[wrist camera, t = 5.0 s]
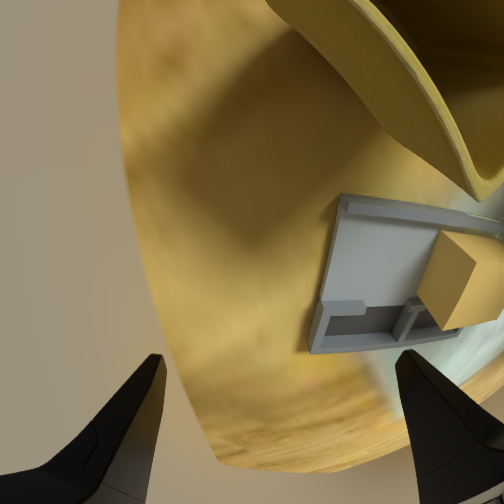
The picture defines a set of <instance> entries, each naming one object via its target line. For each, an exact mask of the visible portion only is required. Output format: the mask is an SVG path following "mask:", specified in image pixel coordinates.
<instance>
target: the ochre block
mask: <svg viewBox="0 0 504 504" xmlns="http://www.w3.org/2000/svg"><path fill="white" fill-rule="evenodd" d="M416 294H417V295H418V296H419V298H420V299H421V301H422V302H423V303H424V305H425V306H426V308H427V309H428V311H429V312H430V313H431V315H432V316H433V318H434V319H435V321H436V322H437V324H438V325H439V327H440V328H441V330H442V331H444V330H450V329H455V328H460V327H465V326H470V325H475V324H479V323H483V322H488V321H492V320H496V319H497V318H498V317H499V315H500V313H501V312H502V310H503V308H504V244H502V243H501V242H500V241H499V240H498V239H496V238H495V237H491V236H484V235H477V234H470V233H462V232H455V231H447V230H440V231H439V234H438V237H437V240H436V243H435V246H434V249H433V251H432V254H431V257H430V260H429V262H428V265H427V267H426V270H425V272H424V275H423V277H422V280H421V282H420V285H419V287H418V289H417V291H416Z"/></svg>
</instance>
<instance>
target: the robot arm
mask: <svg viewBox="0 0 504 504" xmlns="http://www.w3.org/2000/svg"><path fill="white" fill-rule="evenodd" d="M395 370H396V376H397V381H398V388H399V394H400V400H401V404H402V408H403V412H404V416H405V420H406V425H407V429H408V434H409V438H410V443H411V448H412V453H413V458H414V464H415V470H416V477H417V484H418V492H419V500H420V504H504V424H503V423H502V422H500V421H499V420H498V419H496V418H495V417H494V416H492V415H491V414H490V413H488V412H487V411H486V410H484V409H483V408H482V407H480V406H479V405H478V404H477V403H476V402H475V401H473V400H472V399H471V398H470V397H469V396H468V395H467V394H465V393H464V392H463V391H462V390H461V389H460V388H459V387H457V386H456V385H455V384H454V383H453V382H452V381H450V380H449V379H448V378H447V377H446V376H445V375H443V374H442V373H441V372H440V371H439V370H437V369H436V368H435V367H434V366H433V365H432V364H430V363H429V362H428V361H427V360H426V359H424V358H423V357H422V356H421V355H420V354H418V353H417V352H416V351H415V350H413V349H409V350H404V351H403V352H402V354H401V356H400V357H399V359H398V360H397V362H396V364H395ZM166 375H167V368H166V364H165V361H164V358H163V355H161V354H154V353H152V354H150V355H149V356H148V357H147V358H146V359H145V361H144V362H143V363H142V364H141V365H140V366H139V367H138V369H137V370H136V371H135V372H134V373H133V374H132V375H131V376H130V378H129V379H128V380H127V381H126V382H125V383H124V384H123V385H122V386H121V388H120V389H119V390H118V391H117V392H116V393H115V394H114V395H113V397H112V398H111V399H110V400H109V401H108V402H107V403H106V404H105V406H104V407H103V408H102V409H101V410H100V411H99V412H98V414H97V415H96V416H95V417H94V418H93V420H92V421H90V422H89V424H88V425H87V426H86V427H85V428H84V429H83V430H82V431H81V432H80V433H79V434H78V436H77V437H76V438H74V439H73V440H72V441H71V442H70V443H69V444H68V445H67V446H66V447H64V448H63V449H62V450H61V451H60V452H59V453H57V454H56V455H55V456H54V457H53V458H52V459H51V460H49V461H48V462H47V463H45V464H44V465H42V466H40V467H37V468H34V469H30V470H26V471H21V472H16V473H12V474H6V475H0V504H145V501H146V496H147V489H148V483H149V478H150V472H151V467H152V462H153V456H154V451H155V446H156V441H157V436H158V431H159V427H160V422H161V418H162V412H163V405H164V395H165V385H166Z"/></svg>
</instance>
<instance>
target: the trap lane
mask: <svg viewBox="0 0 504 504" xmlns="http://www.w3.org/2000/svg"><path fill="white" fill-rule="evenodd" d="M440 230H447V231H455V232H462V233H470V234H477V235H484V236H491V237H495V238H496V239H498V237H499V234H504V224H503V223H502V222H501V221H499V220H496V219H492V218H487V217H483V216H479V215H474V214H469V213H465V212H460V211H455V210H450V209H445V208H439V207H434V206H428V205H422V204H416V203H410V202H404V201H397V200H390V199H383V198H376V197H368V196H360V195H352V194H343V193H340V199H339V204H338V210H337V215H336V220H335V226H334V231H333V236H332V240H331V245H330V250H329V254H328V259H327V263H326V268H325V272H324V276H323V281H322V285H321V289H320V293H319V297H318V301H317V305H316V308H315V312H314V316H313V320H312V323H311V327H310V330H309V334H308V338H307V344H308V348H309V353H310V354H329V353H344V352H356V351H367V350H377V349H385V348H393V347H401V346H408V345H415V344H421V343H427V342H432V341H438V340H443V339H448V338H453V337H457V336H458V335H459V333H460V331H461V330H462V328H463V327H460V328H455V329H450V330H444V331H442V330H441V328H440V327H439V325H438V324H437V322H436V321H435V319H434V318H433V316H432V315H431V313H430V312H429V311H428V309H427V308H426V306H425V305H424V303H423V302H422V301H421V299H420V298H419V296H418V295H417V294H416V291H417V289H418V287H419V285H420V282H421V280H422V277H423V275H424V272H425V270H426V267H427V265H428V262H429V260H430V257H431V254H432V251H433V249H434V246H435V243H436V240H437V237H438V234H439V231H440Z"/></svg>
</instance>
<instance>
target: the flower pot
mask: <svg viewBox="0 0 504 504" xmlns="http://www.w3.org/2000/svg"><path fill="white" fill-rule="evenodd" d="M265 1H266V2H267V4H268V5H269V6H270V7H271V8H272V10H273V11H274V12H275V13H277V14H278V15H279V16H280V17H281V18H282V19H283V20H284V21H286V22H287V23H288V24H289V25H290V26H291V27H293V28H294V29H295V30H296V31H297V32H298V33H299V34H300V35H302V36H303V37H304V38H305V39H306V40H307V41H308V42H309V43H310V44H311V45H312V46H313V47H314V48H315V49H316V50H317V51H318V52H319V53H320V54H321V55H322V56H323V57H324V58H325V59H326V60H327V61H328V62H329V63H330V64H331V65H332V66H333V67H334V69H335V70H336V71H337V72H338V73H339V74H340V75H341V76H342V77H343V79H344V80H345V81H346V82H347V83H348V85H349V86H350V87H351V88H352V89H353V91H354V92H355V93H356V94H357V96H358V97H359V98H360V99H361V101H362V102H363V103H364V105H365V106H366V108H367V109H368V110H369V112H370V113H371V114H372V116H373V117H374V118H375V119H376V121H377V122H378V123H379V124H380V125H381V127H382V128H383V129H384V130H385V131H386V132H387V133H388V134H389V135H391V136H392V137H393V138H394V139H395V140H396V141H398V142H399V143H400V144H402V145H403V146H404V147H406V148H407V149H409V150H410V151H412V152H413V153H415V154H416V155H418V156H419V157H421V158H422V159H423V160H425V161H426V162H428V163H429V164H430V165H432V166H433V167H434V168H436V169H437V170H439V171H440V172H441V173H443V174H444V175H445V176H446V177H448V178H449V179H450V180H452V181H453V182H454V183H455V184H457V185H458V186H459V187H460V188H462V189H463V190H464V191H465V192H466V193H468V194H469V195H470V196H471V197H472V198H473V199H475V200H476V201H477V202H479V203H480V202H482V201H484V200H485V199H486V198H488V197H489V196H490V195H491V194H492V193H493V192H495V191H496V190H497V189H498V187H499V186H500V185H501V184H502V183H503V182H504V0H265Z"/></svg>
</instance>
